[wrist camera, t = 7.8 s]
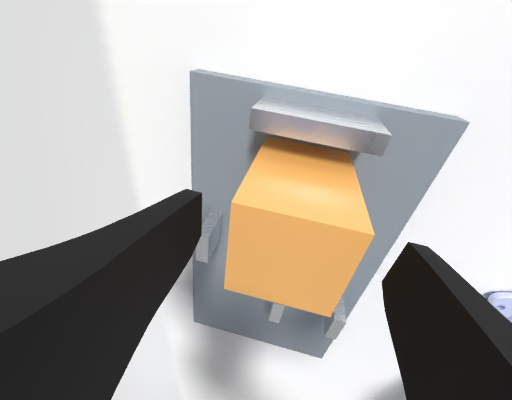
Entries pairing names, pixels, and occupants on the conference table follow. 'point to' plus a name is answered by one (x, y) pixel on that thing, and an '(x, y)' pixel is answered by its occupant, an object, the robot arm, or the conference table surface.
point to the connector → (297, 227)
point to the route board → (366, 165)
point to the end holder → (320, 125)
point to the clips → (331, 324)
